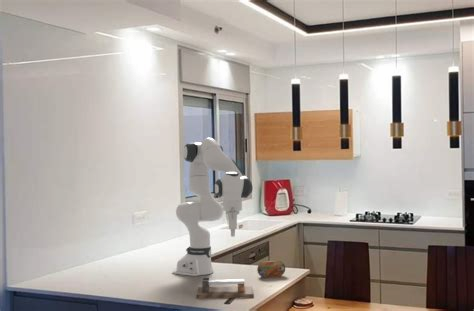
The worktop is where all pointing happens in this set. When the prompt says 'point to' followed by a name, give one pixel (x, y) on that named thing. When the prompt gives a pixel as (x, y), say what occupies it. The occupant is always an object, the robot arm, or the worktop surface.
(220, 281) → the latch lever
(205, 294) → the latch base
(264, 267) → the tin
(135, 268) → the worktop surface
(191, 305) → the worktop surface
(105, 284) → the worktop surface
